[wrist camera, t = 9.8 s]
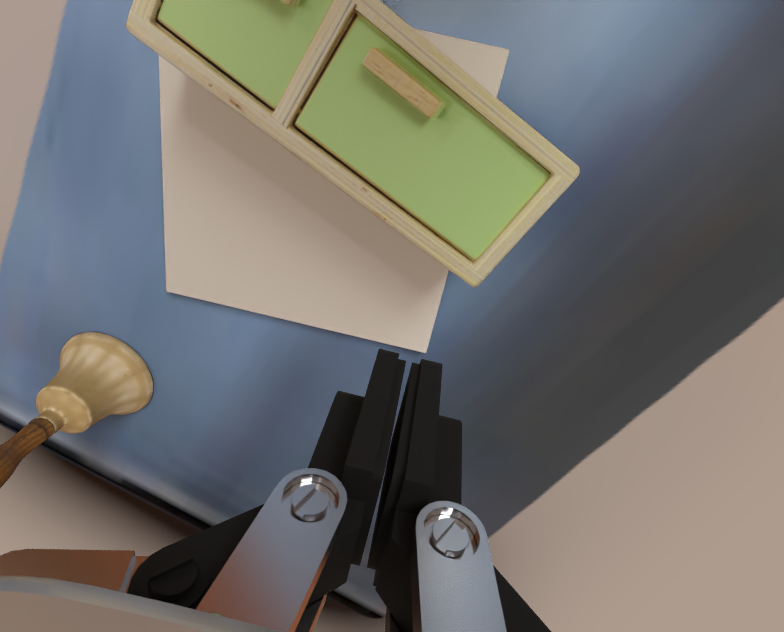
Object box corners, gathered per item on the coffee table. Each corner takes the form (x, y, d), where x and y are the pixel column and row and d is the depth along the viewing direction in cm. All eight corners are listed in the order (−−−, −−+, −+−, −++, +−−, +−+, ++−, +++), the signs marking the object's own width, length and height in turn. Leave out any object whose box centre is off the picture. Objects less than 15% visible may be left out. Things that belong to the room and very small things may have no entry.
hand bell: (45, 365, 42) (-167, 514, 27) (93, 313, 38) (-121, 452, 24) (122, 426, 44) (-39, 593, 30) (172, 381, 41) (20, 545, 26)
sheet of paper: (163, -27, 27) (156, -30, 26) (508, 50, 26) (509, 49, 26) (171, 286, 36) (166, 291, 35) (426, 347, 36) (425, 353, 35)
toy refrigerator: (472, 299, 25) (110, 26, 21) (470, 253, 31) (193, 38, 28) (589, 175, 21) (179, -177, 18) (560, 152, 28) (256, -109, 24)
